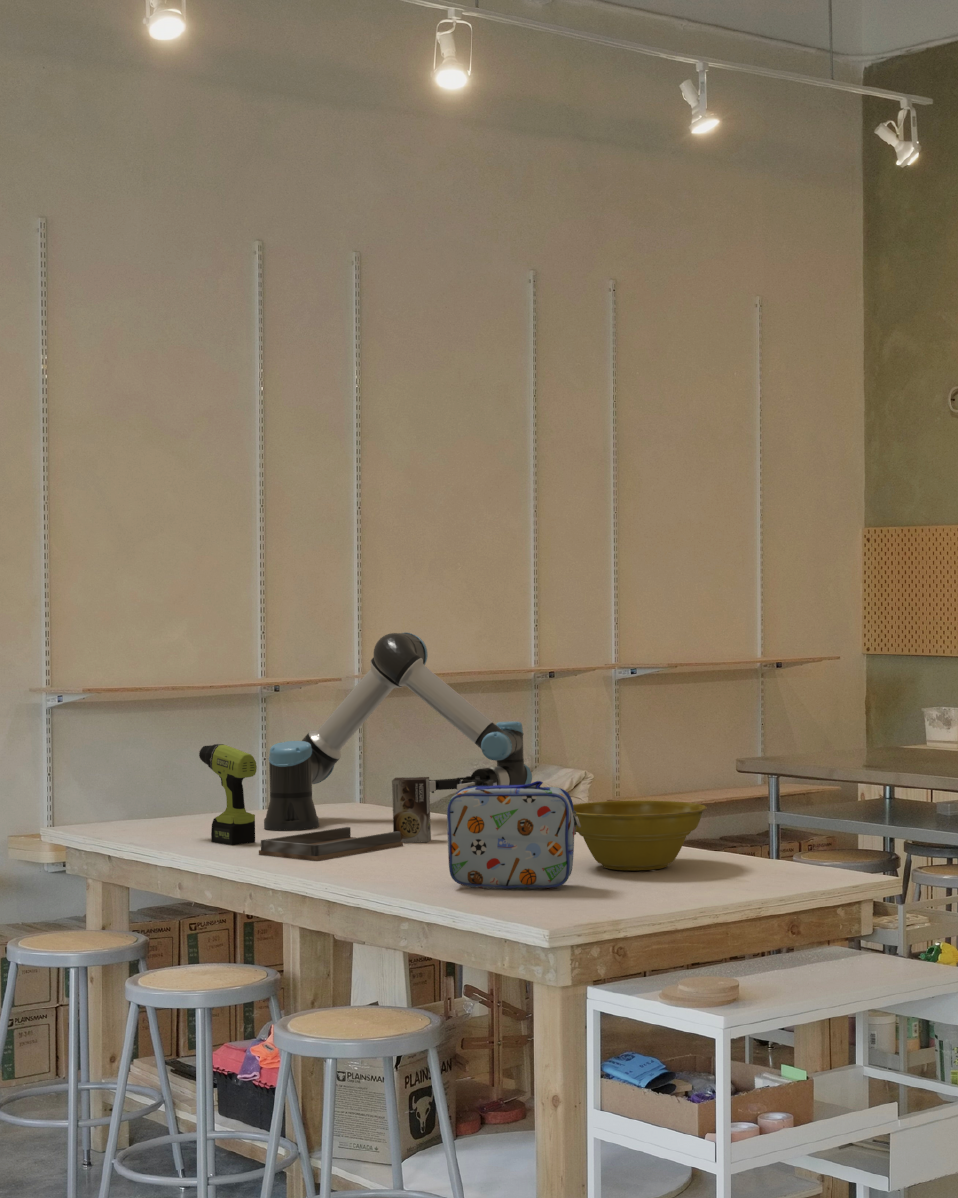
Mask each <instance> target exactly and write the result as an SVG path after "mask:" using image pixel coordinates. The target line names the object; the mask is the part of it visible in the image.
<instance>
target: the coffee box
mask: <svg viewBox="0 0 958 1198" xmlns="http://www.w3.org/2000/svg"><path fill="white" fill-rule="evenodd" d="M429 780H430V776H408V777H407V776H405V777H395V778H393V779H392V780H391V788H392V789H391V790H392V791H391V792H392V793H391V794H392V795H391V796H392V798H391V799H392V824H393V826H392V828H393V831H392V832H396V831H399V832H400V838H401V842H403V844H405V843H407V844H408V843H429V842H430V841H431V840H432V831H431V830H432V828H431V824H432V823H431V799H430V798H431V797H430V796H431V792H430V788H429Z"/></svg>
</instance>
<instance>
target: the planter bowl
mask: <svg viewBox="0 0 958 1198" xmlns="http://www.w3.org/2000/svg"><path fill="white" fill-rule="evenodd" d="M573 809H574V811H576V816H577V817H578V819H579V822H580V825H581V827H578V825H576V833H578V835H580V836H581V837H582V838H583V840H584V842H585V845H586V846H587V848H588V850H589V852H590V854H591V855H592V857H593V859H594V860H595V861H596V863H598V864H600V865H602V867H603V868H606V869H608V870H617V871H623V872H624V871H651V870H660V869H664V868H667V867H668V866H669V865H670V864H671V863H674V861H675V860H676V858H677V857H678V856H679V853H680V851H681V849H682V847H683V845H684V843H685V840H686V837H687V836H689V835H690V834H691V833H692V832H693V831H695V830H696V829H697V828H698V826H699V823H700V821H701V818H702V815H703V811H705V810H707V809H708V807H707V806H706V805H704V804H700V803H695V802H688V801H687V802H686V801H675V800H674V801H673V800H610V801H608V800H607V801H593V802H591V801H590V802H584V803H583V802H581V803H576V804H575V803H573Z"/></svg>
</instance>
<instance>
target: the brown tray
mask: <svg viewBox="0 0 958 1198" xmlns="http://www.w3.org/2000/svg"><path fill="white" fill-rule="evenodd" d="M351 832H352V831H351V827H349V826H344V827H338V828H332V829H326V830H320V831H313V832H312V831H311V832H307V833H298V834H294V835H293V834H292V835H287V836H285V835H284V836H280V837H274V838H273V837H272V838H267V839H261V840H260V849H259V850H258V855H261V856H269V857H270V856H271V857H280V858H288V859H296V860H297V859H298V860H307V861H314V862H315V861H316V862H318V861H323V860H324V861H325V860H329V859H330V860H331V859H335V858H342V857H346V856H347V857H348V856H353V855H358V854H365V853H371V852H376V851H381V850H388V849H393V848H399V847H404V843H403V842H401V838H400V832H399V831H396V832H393V831H392V832H391V831H390V832H384V833H379V834H371V835H365V836H360V837H355V836H354V837H353V836H351Z"/></svg>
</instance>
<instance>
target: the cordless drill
mask: <svg viewBox="0 0 958 1198" xmlns="http://www.w3.org/2000/svg"><path fill="white" fill-rule="evenodd" d="M198 752H199V753H198V757H199V758H200V760H201V761H202V762H203V763H204V764H205V765H207V767H208V768H209V769H210V770H211V771H213V772H214V773H215V774H216V775H217V776H218V777H219V778H220V783H221V786H222V787H223V788H224V790H225V795H226V796H225V797H226V807H225V809H224V811H223V812H222V813H220V814H218V815H217V816H215V817H214V818H213V820H212V822H211V831H210V832H211V833H210V835H211V836H210V838H211V840H210V841H211V843H215V844H222V845H229V846H238V845H244V844H246V845H247V844H252V843H256V814H253V813H252V812H247V809H246V807H245V794H244V785H243V780H244V779H245V778H251V777H254V776H255V775H256V773H257V770H258V769H257V768H258V767H257V762H256V759H255V757H254V756H253V755H252V754H250V753H248V752H245V751H243V750H240V749H237V748H236V747H232V746H230V745H228V744H227V745H226V744H223V743H216V744H212V745H211V744H210V745H204V746H203V747H201V748H200V750H199V751H198Z"/></svg>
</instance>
